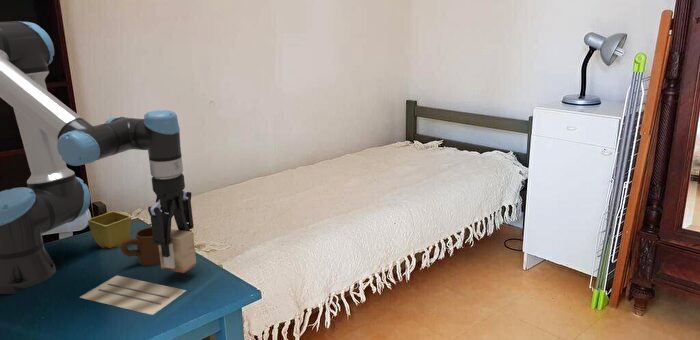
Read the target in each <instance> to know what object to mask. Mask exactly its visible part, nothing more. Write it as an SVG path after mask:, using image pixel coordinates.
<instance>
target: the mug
mask: <svg viewBox="0 0 700 340" xmlns="http://www.w3.org/2000/svg"><path fill="white" fill-rule="evenodd" d="M128 245H134V246H135V245H136V249H128ZM120 251H121V253H122V254H123V255H124V256H126V257H136V258H138V263H139V265H142V266H147V267H148V266H156V265H161V262H160V254H159V247H158V245H156V244H154V243H153V234H152V226H150V227H144V228H141V229H139V230H138V231H136V233H135V238H133V237H132V238H130V237H129V239H126V240H125V241H123V243H122V244H121V247H120Z"/></svg>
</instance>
